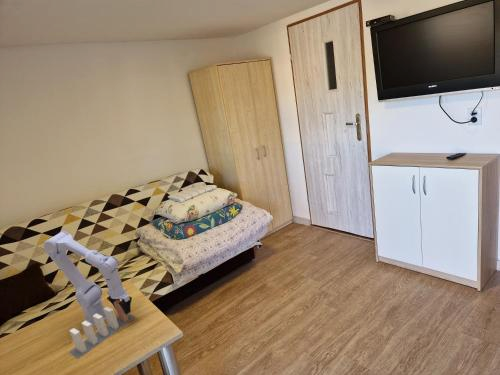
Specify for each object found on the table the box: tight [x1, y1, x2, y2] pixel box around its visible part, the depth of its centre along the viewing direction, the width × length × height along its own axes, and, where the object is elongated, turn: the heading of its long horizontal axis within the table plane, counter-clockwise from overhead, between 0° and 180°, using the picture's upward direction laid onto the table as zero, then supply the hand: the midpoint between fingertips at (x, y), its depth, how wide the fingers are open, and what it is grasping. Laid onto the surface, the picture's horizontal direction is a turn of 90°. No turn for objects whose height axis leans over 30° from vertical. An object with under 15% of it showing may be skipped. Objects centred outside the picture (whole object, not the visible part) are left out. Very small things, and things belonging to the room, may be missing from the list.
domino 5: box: [114, 300, 129, 322], centre depth 153 cm, size 5×2×9 cm, turn 52°
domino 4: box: [103, 306, 119, 329], centre depth 149 cm, size 5×2×9 cm, turn 53°
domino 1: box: [69, 327, 86, 353], centre depth 138 cm, size 5×2×9 cm, turn 53°
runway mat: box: [68, 313, 136, 360], centre depth 146 cm, size 8×27×1 cm, turn 143°
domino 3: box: [93, 313, 109, 337], centre depth 145 cm, size 5×2×9 cm, turn 53°
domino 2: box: [80, 320, 98, 345], centre depth 141 cm, size 5×2×9 cm, turn 53°
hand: (123, 310), depth 153 cm, fingers open, 7 cm apart
